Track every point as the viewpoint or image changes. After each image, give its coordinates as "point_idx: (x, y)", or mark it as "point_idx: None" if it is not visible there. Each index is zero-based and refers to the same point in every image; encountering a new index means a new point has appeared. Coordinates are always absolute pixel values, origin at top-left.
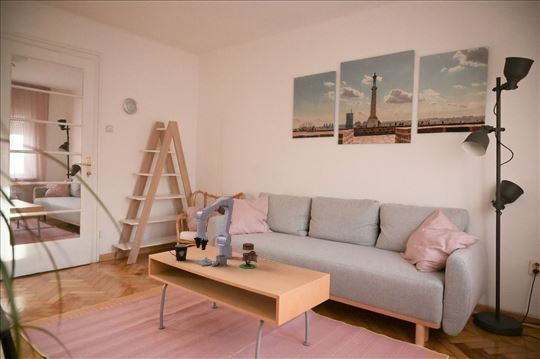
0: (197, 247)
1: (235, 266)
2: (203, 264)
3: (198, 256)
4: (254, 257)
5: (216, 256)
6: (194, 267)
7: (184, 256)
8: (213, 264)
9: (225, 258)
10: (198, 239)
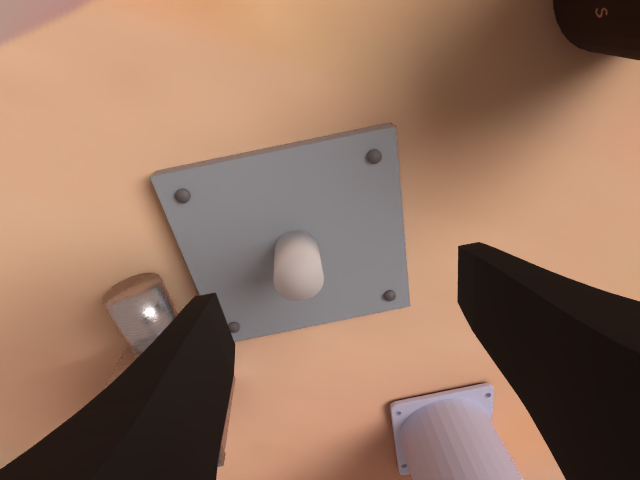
0: (464, 260)
1: None
2: (171, 194)
3: (620, 247)
4: None
5: None
6: (119, 47)
7: (596, 2)
8: (106, 295)
9: None
10: (634, 476)
